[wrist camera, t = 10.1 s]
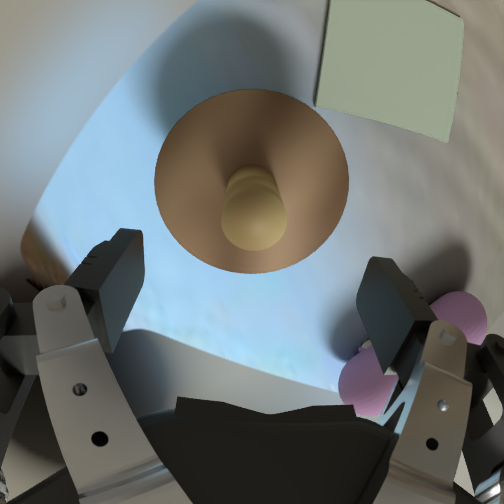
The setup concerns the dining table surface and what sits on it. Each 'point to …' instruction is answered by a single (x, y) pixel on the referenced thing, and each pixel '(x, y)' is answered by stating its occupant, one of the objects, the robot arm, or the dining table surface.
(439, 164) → the dining table surface
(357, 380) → the toy
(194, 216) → the lid
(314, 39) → the dining table surface
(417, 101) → the mat
